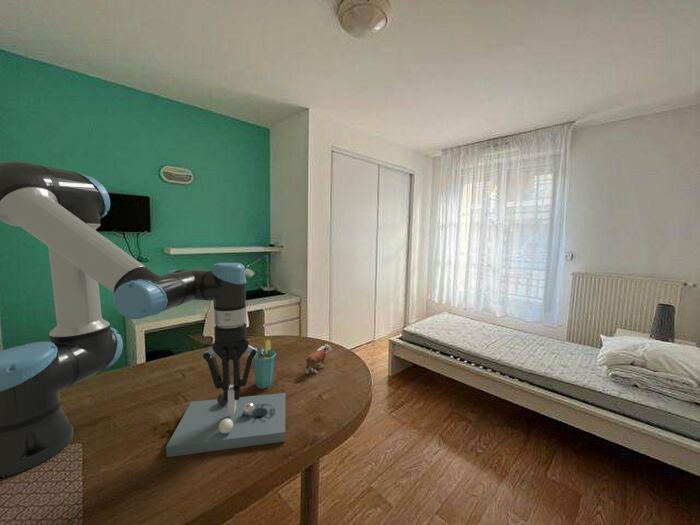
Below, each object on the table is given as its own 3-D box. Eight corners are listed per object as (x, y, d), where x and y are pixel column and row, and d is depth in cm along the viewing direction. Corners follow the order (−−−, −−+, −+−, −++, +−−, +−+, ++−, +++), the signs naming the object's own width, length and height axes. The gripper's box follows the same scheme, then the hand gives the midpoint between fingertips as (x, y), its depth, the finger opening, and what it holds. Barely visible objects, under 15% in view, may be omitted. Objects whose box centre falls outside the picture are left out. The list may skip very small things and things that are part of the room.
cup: (274, 397, 86) (274, 350, 85) (248, 399, 85) (247, 352, 83) (277, 374, 100) (277, 334, 98) (254, 376, 98) (254, 335, 97)
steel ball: (240, 417, 72) (243, 406, 72) (242, 409, 75) (245, 398, 75) (252, 419, 73) (256, 407, 72) (254, 411, 76) (257, 400, 76)
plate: (166, 457, 62) (166, 446, 62) (191, 410, 79) (191, 401, 79) (285, 441, 68) (285, 432, 68) (285, 400, 85) (285, 392, 84)
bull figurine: (333, 363, 110) (333, 343, 109) (311, 377, 98) (311, 355, 98) (324, 360, 112) (324, 341, 111) (301, 374, 101) (302, 352, 100)
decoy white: (217, 437, 65) (217, 425, 65) (220, 428, 68) (220, 416, 68) (231, 436, 66) (231, 423, 66) (234, 426, 69) (234, 414, 69)
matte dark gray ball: (216, 407, 76) (215, 396, 76) (218, 400, 79) (218, 390, 79) (228, 406, 77) (228, 395, 77) (230, 399, 80) (230, 389, 80)
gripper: (197, 330, 65) (200, 423, 68) (255, 327, 68) (256, 417, 71) (206, 320, 73) (209, 405, 75) (258, 318, 75) (259, 400, 78)
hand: (232, 411), depth 73 cm, fingers closed
